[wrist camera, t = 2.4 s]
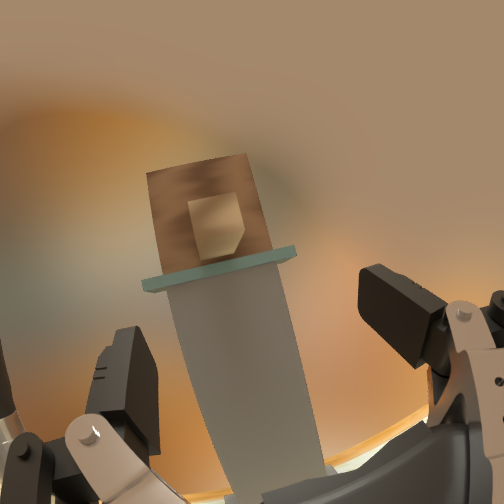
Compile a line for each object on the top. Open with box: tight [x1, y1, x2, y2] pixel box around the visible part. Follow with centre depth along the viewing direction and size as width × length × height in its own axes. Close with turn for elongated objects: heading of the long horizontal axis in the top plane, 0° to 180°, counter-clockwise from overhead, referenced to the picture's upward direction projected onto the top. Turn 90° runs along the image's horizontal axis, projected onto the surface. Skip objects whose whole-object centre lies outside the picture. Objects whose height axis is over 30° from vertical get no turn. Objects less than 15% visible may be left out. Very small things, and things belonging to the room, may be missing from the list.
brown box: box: [146, 153, 273, 275], centre depth 23 cm, size 10×13×10 cm
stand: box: [142, 245, 338, 504], centre depth 25 cm, size 14×5×30 cm, turn 99°
